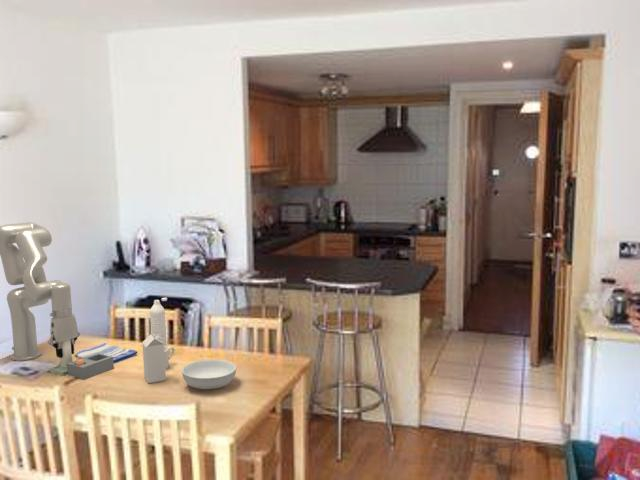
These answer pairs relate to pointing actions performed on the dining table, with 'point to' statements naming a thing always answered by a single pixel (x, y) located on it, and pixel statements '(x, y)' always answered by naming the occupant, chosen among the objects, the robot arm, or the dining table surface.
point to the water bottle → (158, 320)
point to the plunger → (79, 362)
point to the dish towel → (108, 352)
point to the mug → (168, 355)
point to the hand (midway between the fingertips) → (65, 354)
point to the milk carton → (154, 359)
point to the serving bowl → (209, 373)
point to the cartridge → (66, 353)
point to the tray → (59, 370)
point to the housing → (91, 366)
